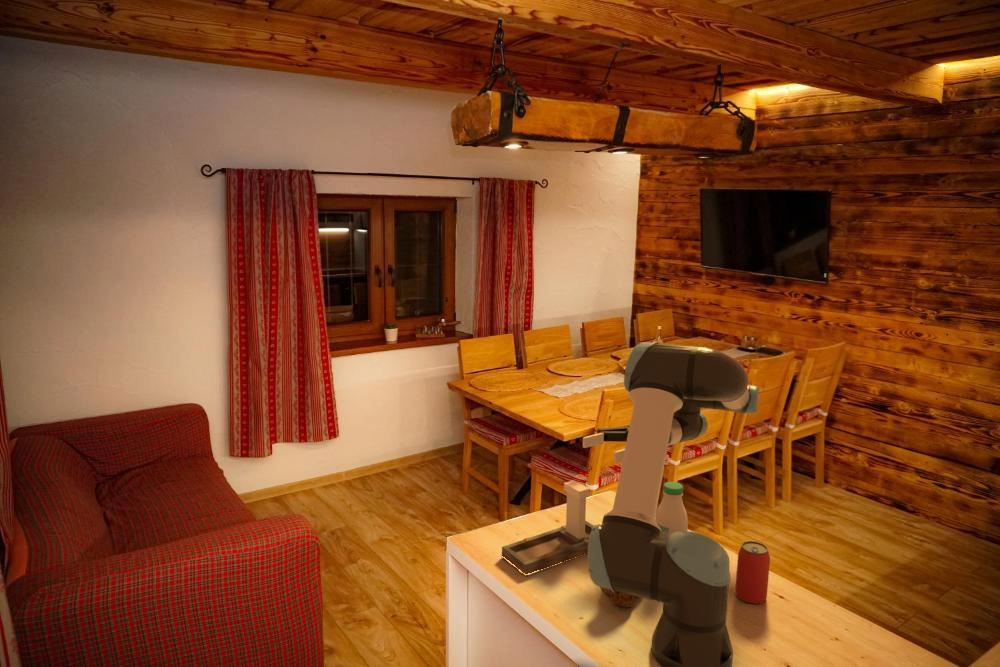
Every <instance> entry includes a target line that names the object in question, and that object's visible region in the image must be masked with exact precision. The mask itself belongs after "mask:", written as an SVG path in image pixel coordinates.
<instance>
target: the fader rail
mask: <svg viewBox="0 0 1000 667" xmlns="http://www.w3.org/2000/svg"><path fill="white" fill-rule="evenodd" d="M594 525H595V524H592V523H590V522H588V521H587V520H585V533H586V534H588V535H590V532H591V529H592V527H593V526H594ZM565 529H566V524H565V525H562V526H561V527H558V528H555V529H552V530H549V531H546V532H542V533H540V534H536V535H533V536H531V537H525V538H523V539H522V540H518V541H516V542H512V543H509V544H506V545H504V546H502V547H501V557H502V556H503V557H505V558H506V559H507V560H509V561H510V562H511V563H512V564H514V565H515V566H516V567H517V568H518V569H520V570H521V571H522V572H523V573H525V574H528V573H532V572H534V571H537V570H541V569H544V568H547V567H550V566H552V565H555V564H558V563H560V562H564V561H566V560H569V559H572V558H575V557H578V556H580V557H582V556H581V555H583V556H585V555H584V554H586V553H588V542H589V539H585V540H583V541H582V542H579V543H576V544H573V545H571V544H570V543H568V542H567V541H565V540H564V539H562V538H560V537H559V531H562V530H565ZM586 555H587V554H586ZM578 558H579V557H578ZM575 559H576V558H575ZM572 560H573V559H572ZM564 563H565V562H564Z"/></svg>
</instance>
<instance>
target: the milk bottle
mask: <svg viewBox="0 0 1000 667" xmlns="http://www.w3.org/2000/svg"><path fill="white" fill-rule="evenodd" d="M662 494H663V498H662V500H661V502H660V504H658V505H659V506H657V510H656V516H655V521H656V523H657V524H658V526H659V527H660V529H661V533H660V538H663V539H667V538H668V536H669V535H670V534H672V533H674V532H679V531H680V532H682V533H683V532H684V531H689V529H688V527H689V526H688V525H689V524H688V523H689V520H688V518H689V517H688V513H687V511H686V510H687V509H686V507H685V505H684V503H683V496H684V486H683V484H681V483H680V482H676V481H667V482H664V484H663V487H662Z"/></svg>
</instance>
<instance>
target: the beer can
mask: <svg viewBox="0 0 1000 667" xmlns="http://www.w3.org/2000/svg"><path fill="white" fill-rule="evenodd" d="M770 564H771V556H770V553H769V548H768V546H767V545H766V544H764V543H762V542H758V541H755V540H754V541H753V540H747V541H743V543H742V542H741V546H740V548H739V551H738V553H737V565H736V566H737V567H736V574H735V575H736V576H735V577H736V580H735V588H734V589H735V590H734V591H735V592H734V593H735V595H736V597H738V599H740V600H741V601H743V602H745V603H748V604H751V605H753V604H755V605H758V604H762V603H764V602H765V601H766V600H767V597H768V589H769V588H768V586H769V576H770V575H769V574H770V566H771V565H770Z"/></svg>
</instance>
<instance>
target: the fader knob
mask: <svg viewBox="0 0 1000 667" xmlns="http://www.w3.org/2000/svg"><path fill="white" fill-rule="evenodd" d="M563 491H564V492H565V493H566V511H565V512H566V513H565V514H566V516H565V517H566V518H565V522H566V523H565V526H566V529H565V530H562V531H559V537H560V538H562V539H564V540H565V541H567V542H568V543H570V544H571V545H573V544H576V543H579V542H582V541H583V540H585V539H589V536H590V535H588V534H586V533H585V521H586V514H587V513H586V509H587V508H586V507H587V498H588V497H590V488H589V487H587V486H585V485H584V484H581V483H579V482H578V481H576V480H570V481H568V482H564V483H563Z"/></svg>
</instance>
